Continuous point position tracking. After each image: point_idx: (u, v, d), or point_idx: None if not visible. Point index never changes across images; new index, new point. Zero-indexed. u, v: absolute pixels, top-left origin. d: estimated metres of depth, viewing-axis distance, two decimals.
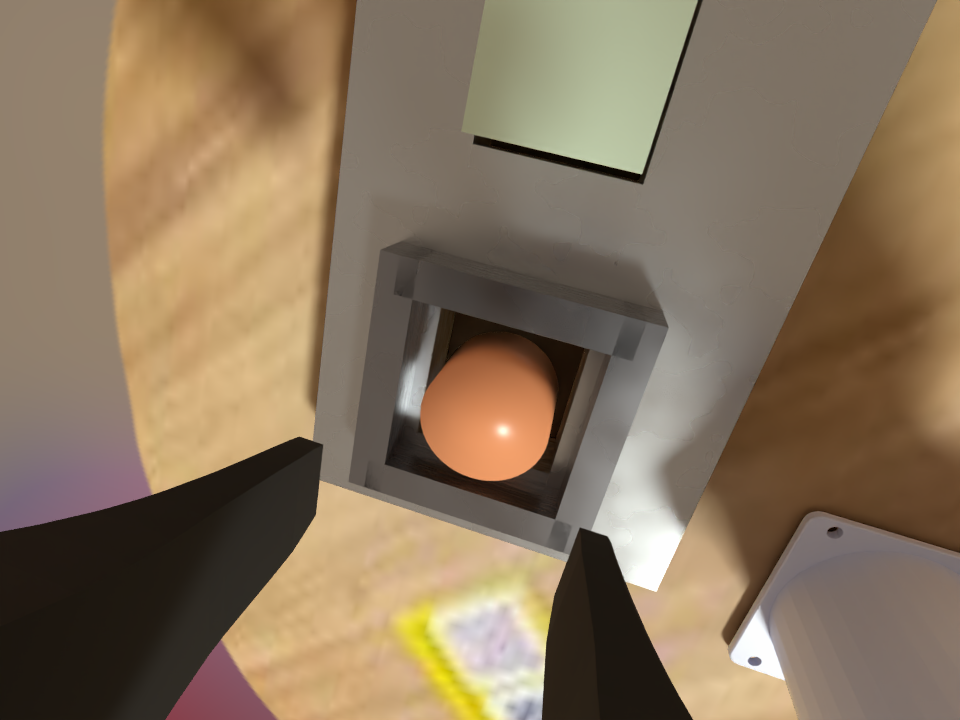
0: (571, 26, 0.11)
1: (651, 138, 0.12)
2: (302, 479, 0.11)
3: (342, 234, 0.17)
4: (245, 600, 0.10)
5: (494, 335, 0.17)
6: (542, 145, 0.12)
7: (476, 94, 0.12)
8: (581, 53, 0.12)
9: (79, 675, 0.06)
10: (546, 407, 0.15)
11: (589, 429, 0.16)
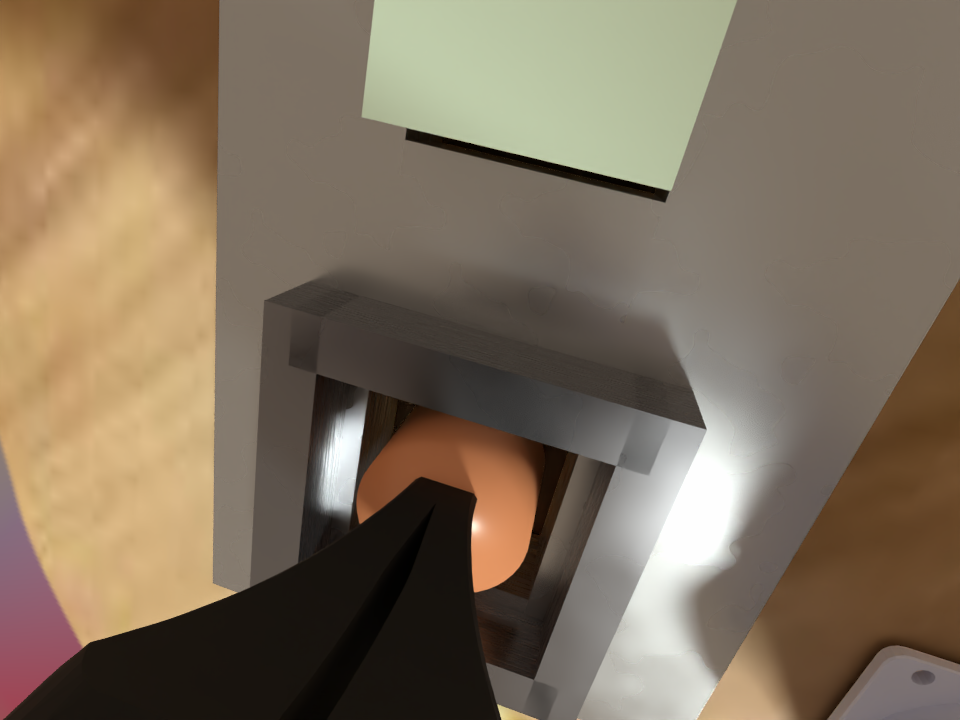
0: None
1: (689, 127, 0.07)
2: None
3: (228, 270, 0.12)
4: None
5: None
6: (498, 139, 0.07)
7: (382, 51, 0.07)
8: None
9: None
10: (525, 504, 0.11)
11: (582, 566, 0.11)
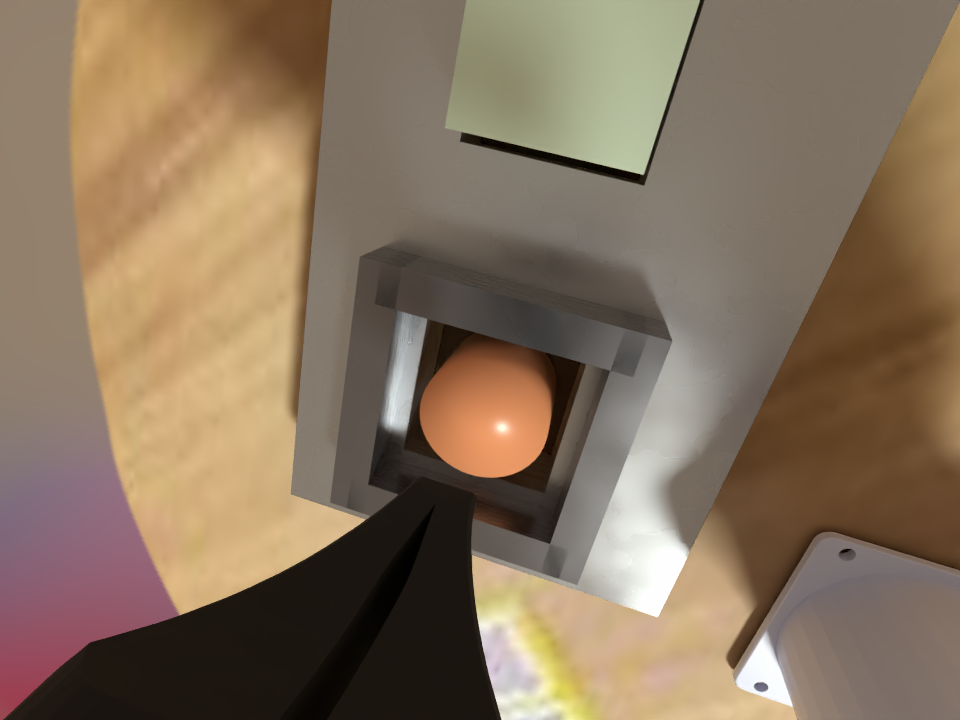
0: (565, 10, 0.10)
1: (654, 135, 0.11)
2: None
3: (321, 239, 0.16)
4: None
5: None
6: (534, 142, 0.11)
7: (460, 86, 0.11)
8: (576, 40, 0.10)
9: None
10: (545, 404, 0.15)
11: (586, 449, 0.15)
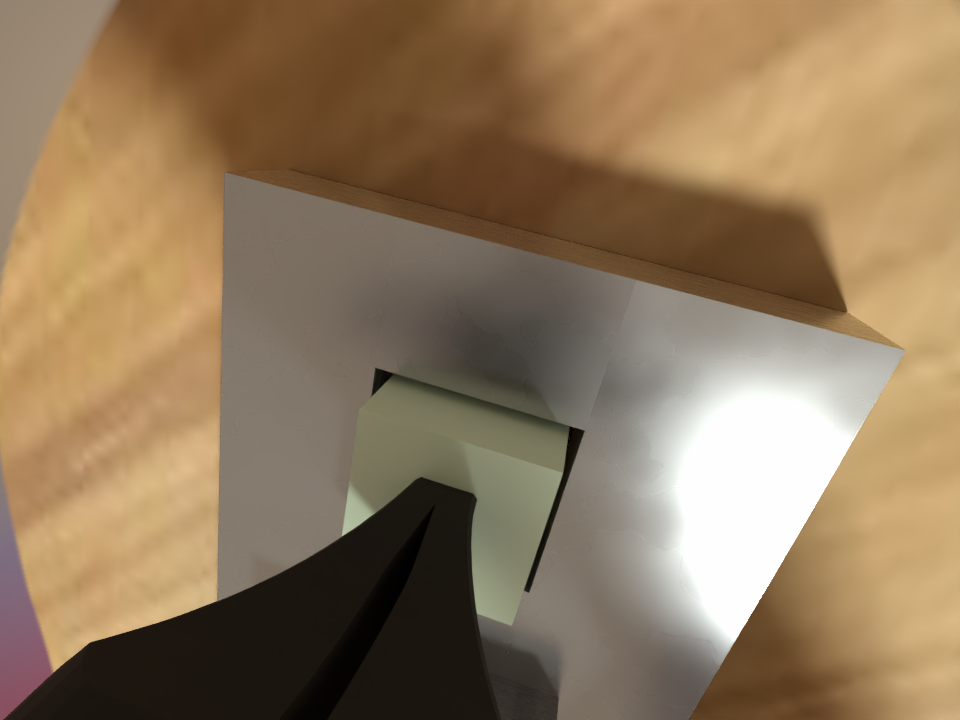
0: None
1: (518, 601, 0.12)
2: None
3: (226, 583, 0.16)
4: None
5: None
6: None
7: None
8: None
9: None
10: None
11: None
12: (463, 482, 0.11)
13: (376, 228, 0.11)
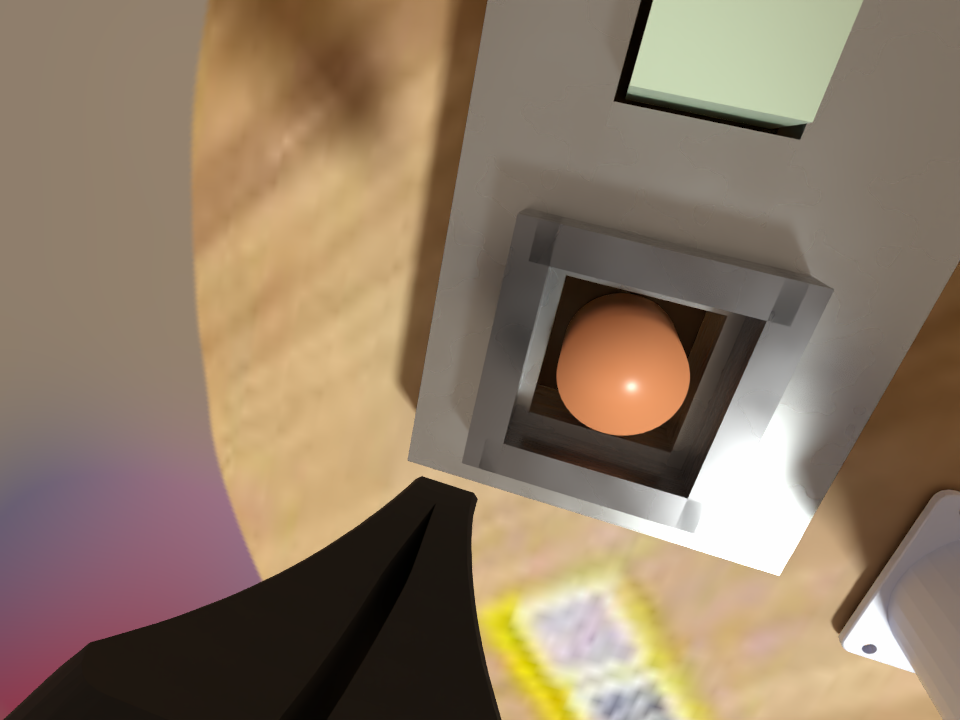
0: None
1: (825, 86, 0.12)
2: None
3: (462, 202, 0.16)
4: None
5: (620, 296, 0.18)
6: (713, 96, 0.13)
7: (648, 47, 0.13)
8: (760, 4, 0.12)
9: None
10: None
11: (734, 401, 0.15)
12: None
13: None
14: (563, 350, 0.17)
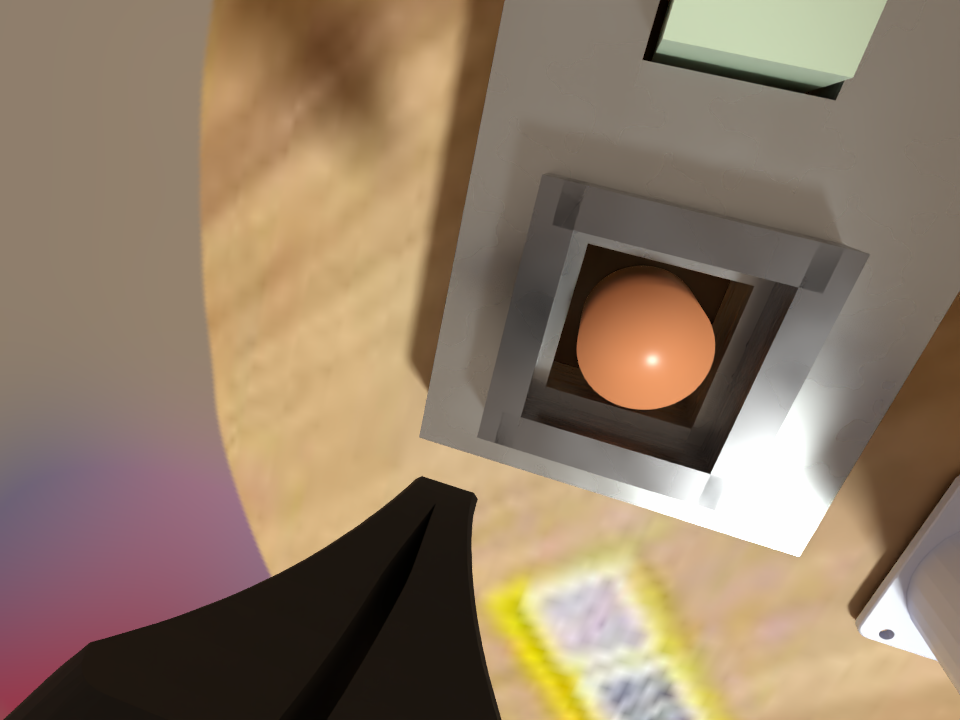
0: None
1: (867, 39, 0.12)
2: None
3: (482, 167, 0.16)
4: None
5: (641, 268, 0.17)
6: (749, 50, 0.12)
7: None
8: None
9: None
10: (712, 330, 0.15)
11: (762, 372, 0.15)
12: None
13: None
14: (584, 320, 0.16)
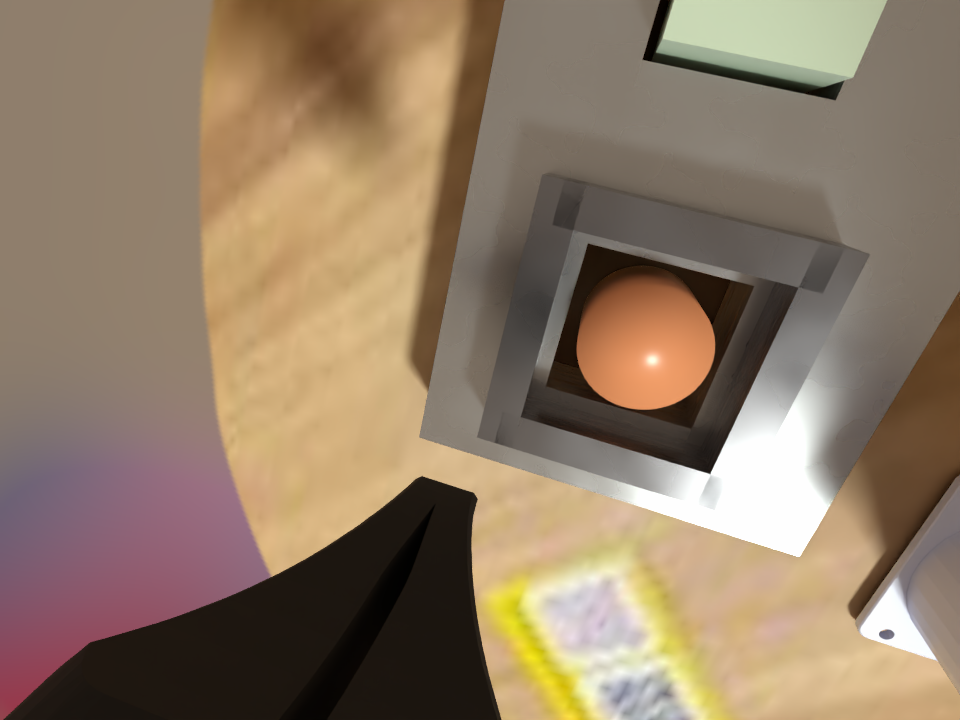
0: None
1: (867, 39, 0.12)
2: None
3: (482, 167, 0.16)
4: None
5: (641, 268, 0.17)
6: (749, 50, 0.12)
7: None
8: None
9: None
10: (712, 330, 0.15)
11: (762, 372, 0.15)
12: None
13: None
14: (584, 320, 0.16)
